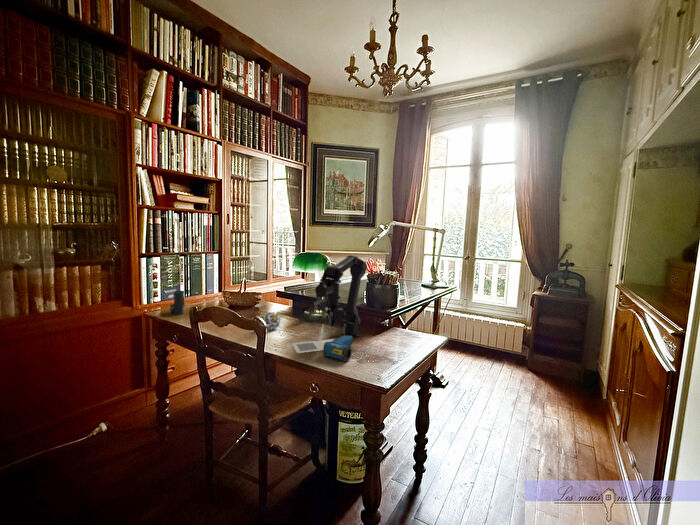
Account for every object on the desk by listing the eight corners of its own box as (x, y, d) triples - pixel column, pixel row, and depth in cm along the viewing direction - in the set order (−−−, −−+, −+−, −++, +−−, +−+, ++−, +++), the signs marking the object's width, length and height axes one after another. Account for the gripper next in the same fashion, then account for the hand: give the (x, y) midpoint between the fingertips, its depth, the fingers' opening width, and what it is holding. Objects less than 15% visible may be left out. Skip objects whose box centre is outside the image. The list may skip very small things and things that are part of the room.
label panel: (338, 338, 161) (338, 338, 161) (347, 347, 150) (347, 346, 150) (291, 343, 151) (291, 343, 151) (297, 353, 140) (297, 353, 140)
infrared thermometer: (365, 350, 149) (344, 364, 131) (341, 344, 155) (318, 356, 137) (366, 337, 148) (345, 349, 131) (342, 331, 154) (318, 342, 137)
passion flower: (274, 340, 170) (269, 326, 162) (258, 332, 174) (252, 319, 166) (287, 324, 177) (282, 310, 169) (271, 317, 181) (266, 304, 173)
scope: (179, 289, 197) (189, 291, 192) (180, 310, 198) (190, 313, 194) (166, 291, 190) (176, 293, 185) (167, 313, 191) (177, 316, 187)
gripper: (310, 290, 152) (309, 321, 154) (322, 299, 135) (321, 334, 137) (332, 289, 156) (331, 319, 158) (346, 297, 139) (345, 332, 141)
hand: (331, 326), depth 148 cm, fingers closed
